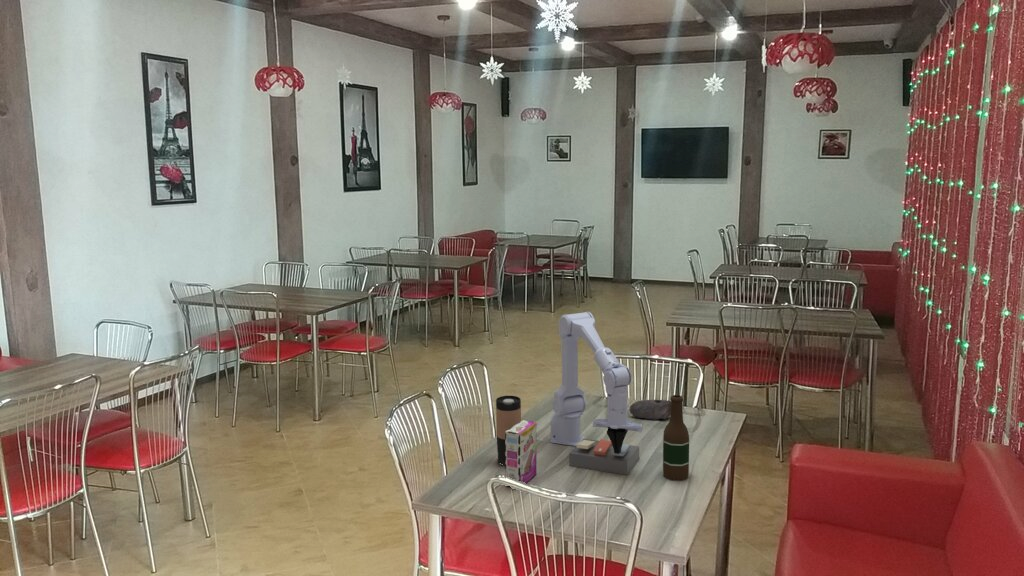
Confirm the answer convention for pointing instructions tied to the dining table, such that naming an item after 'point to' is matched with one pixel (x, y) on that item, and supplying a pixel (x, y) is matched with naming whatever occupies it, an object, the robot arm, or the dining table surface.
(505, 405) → the travel mug
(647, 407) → the perforated stone tool
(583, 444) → the block
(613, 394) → the robot arm
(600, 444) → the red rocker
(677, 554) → the dining table surface
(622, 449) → the slate rocker
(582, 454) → the rocker switch panel
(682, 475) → the beer bottle
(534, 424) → the candy bar box
